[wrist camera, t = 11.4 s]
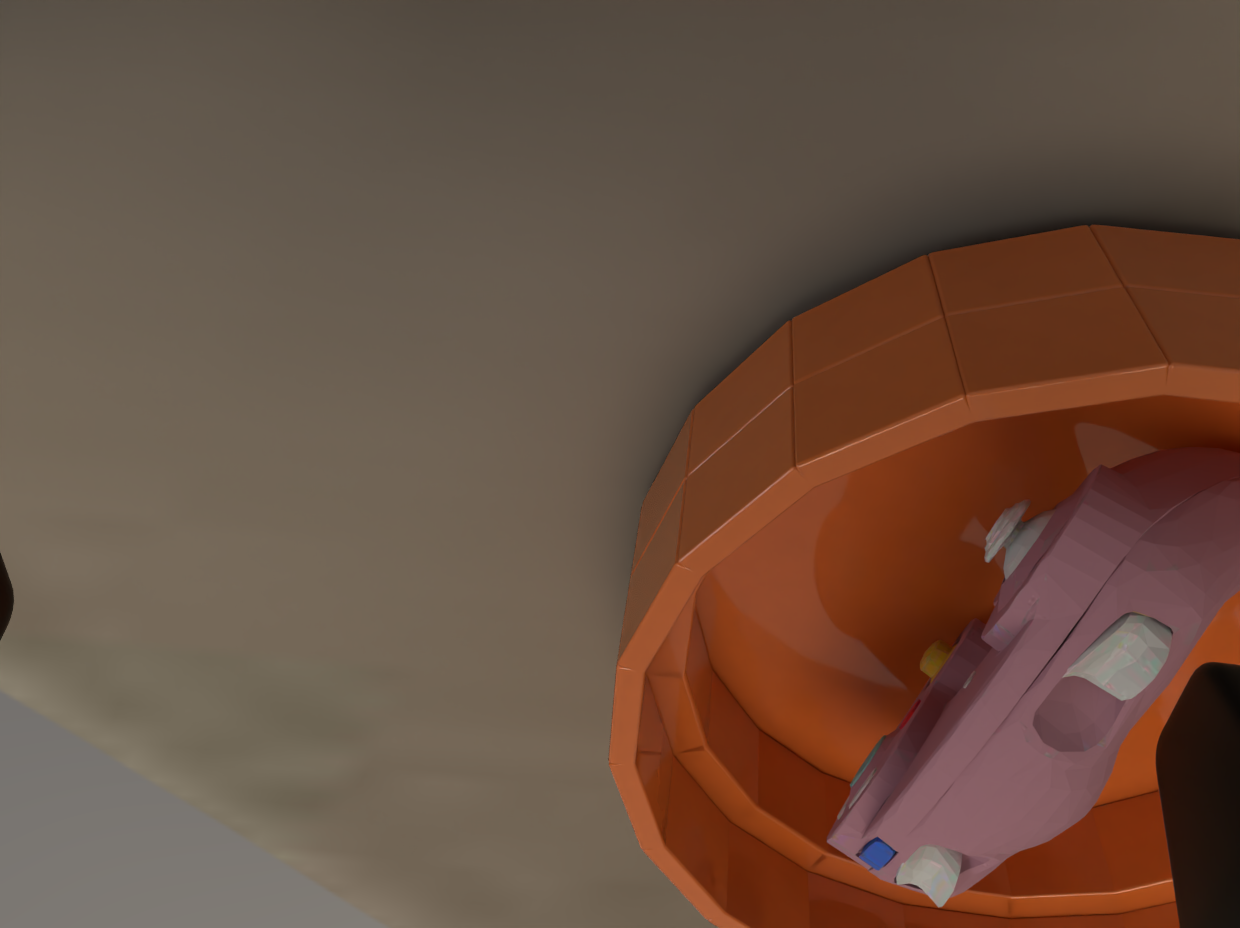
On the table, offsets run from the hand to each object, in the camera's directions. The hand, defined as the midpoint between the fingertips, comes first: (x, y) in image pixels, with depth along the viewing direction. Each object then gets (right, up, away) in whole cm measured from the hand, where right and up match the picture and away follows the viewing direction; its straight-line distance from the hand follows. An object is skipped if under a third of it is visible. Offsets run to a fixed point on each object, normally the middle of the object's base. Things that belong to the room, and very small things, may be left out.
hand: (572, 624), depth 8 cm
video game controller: (+9, -1, +14) cm, 17 cm away
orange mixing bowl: (+9, -1, +14) cm, 17 cm away
